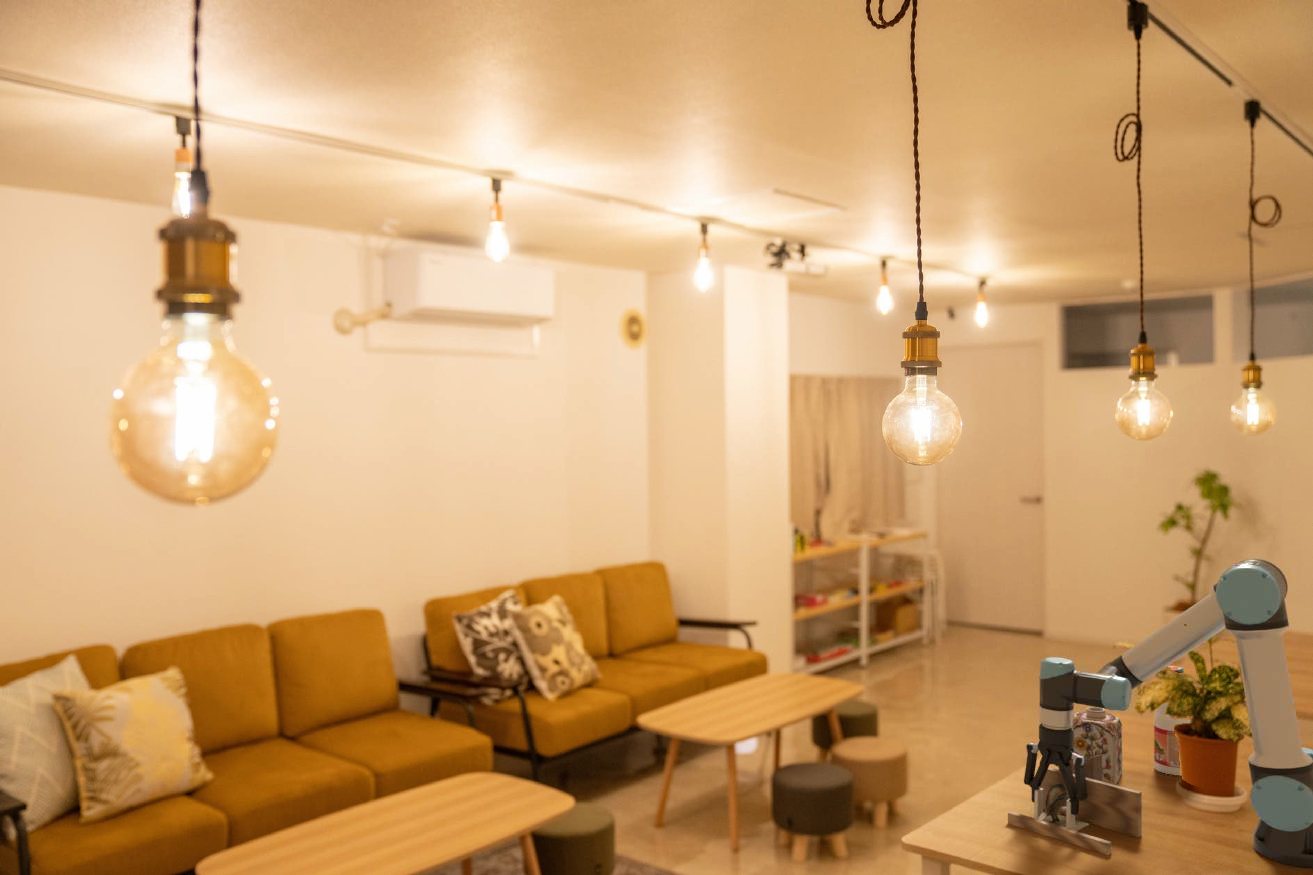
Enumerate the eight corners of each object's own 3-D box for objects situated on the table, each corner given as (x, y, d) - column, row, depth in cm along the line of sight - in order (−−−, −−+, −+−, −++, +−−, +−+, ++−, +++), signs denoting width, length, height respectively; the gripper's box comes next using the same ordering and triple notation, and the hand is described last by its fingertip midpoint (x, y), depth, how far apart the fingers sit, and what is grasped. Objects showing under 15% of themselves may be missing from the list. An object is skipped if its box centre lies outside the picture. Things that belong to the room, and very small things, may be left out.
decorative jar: (1116, 786, 265) (1116, 717, 265) (1068, 778, 271) (1068, 710, 271) (1123, 772, 275) (1122, 706, 275) (1076, 765, 281) (1076, 700, 281)
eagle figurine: (1079, 829, 236) (1076, 790, 236) (1049, 833, 235) (1047, 794, 235) (1062, 816, 244) (1059, 779, 243) (1033, 820, 243) (1031, 782, 243)
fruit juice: (1186, 779, 270) (1186, 673, 269) (1148, 771, 276) (1148, 667, 276) (1198, 770, 276) (1198, 667, 276) (1161, 762, 283) (1161, 661, 283)
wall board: (1141, 835, 233) (1141, 791, 233) (1108, 855, 223) (1108, 809, 223) (1043, 806, 251) (1042, 765, 251) (1007, 823, 241) (1007, 780, 241)
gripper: (1105, 732, 235) (1104, 831, 235) (1024, 712, 250) (1023, 805, 251) (1089, 738, 230) (1088, 839, 230) (1008, 717, 245) (1006, 812, 246)
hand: (1054, 821), depth 241 cm, fingers open, 7 cm apart
